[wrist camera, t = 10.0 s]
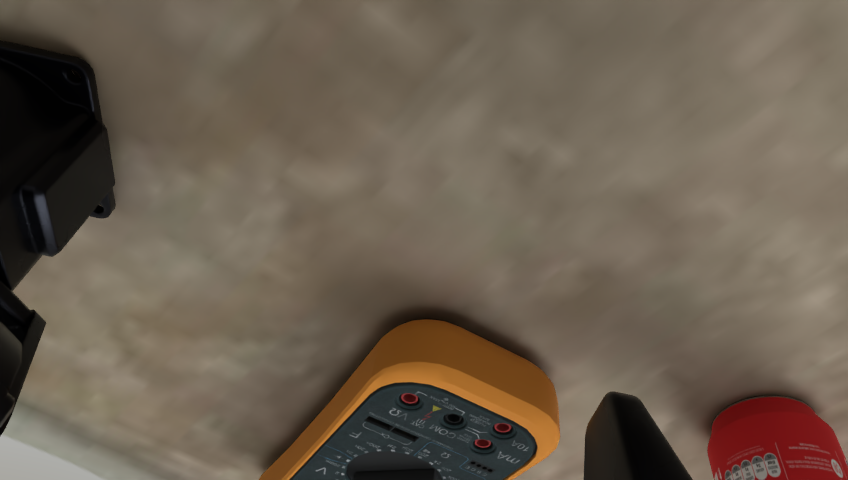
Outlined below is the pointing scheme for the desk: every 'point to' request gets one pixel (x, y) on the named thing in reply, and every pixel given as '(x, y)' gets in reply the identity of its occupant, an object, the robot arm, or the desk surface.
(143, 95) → the desk surface
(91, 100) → the robot arm
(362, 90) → the desk surface
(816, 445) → the red soda can
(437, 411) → the multimeter
